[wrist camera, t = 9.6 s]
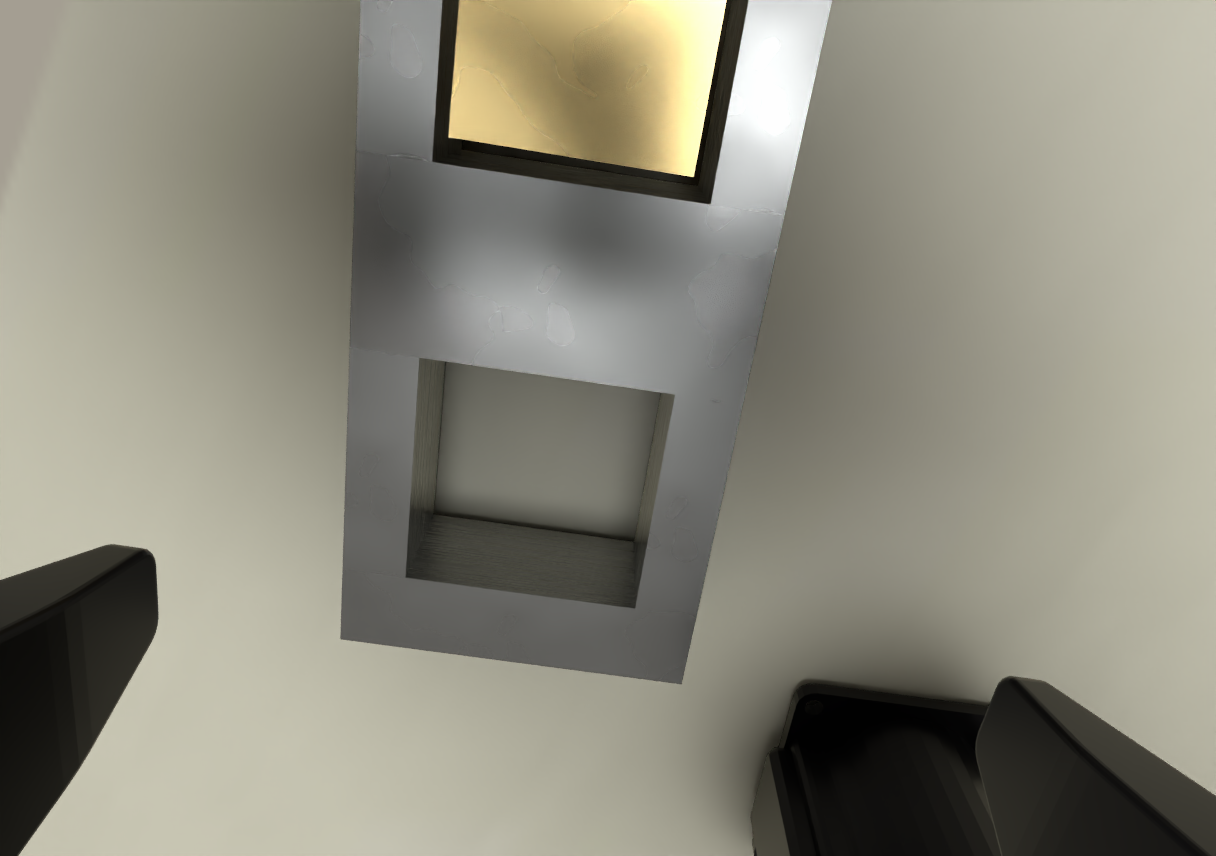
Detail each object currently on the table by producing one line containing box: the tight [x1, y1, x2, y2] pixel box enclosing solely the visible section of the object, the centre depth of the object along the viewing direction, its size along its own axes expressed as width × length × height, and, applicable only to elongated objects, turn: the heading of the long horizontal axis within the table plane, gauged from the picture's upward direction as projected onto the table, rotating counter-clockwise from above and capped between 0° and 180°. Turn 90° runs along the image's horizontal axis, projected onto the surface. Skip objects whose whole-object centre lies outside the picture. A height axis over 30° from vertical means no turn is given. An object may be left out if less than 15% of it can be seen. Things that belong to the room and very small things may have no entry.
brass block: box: [448, 0, 727, 177], centre depth 15 cm, size 4×4×5 cm
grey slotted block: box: [341, 0, 832, 684], centre depth 18 cm, size 8×18×3 cm, turn 172°
